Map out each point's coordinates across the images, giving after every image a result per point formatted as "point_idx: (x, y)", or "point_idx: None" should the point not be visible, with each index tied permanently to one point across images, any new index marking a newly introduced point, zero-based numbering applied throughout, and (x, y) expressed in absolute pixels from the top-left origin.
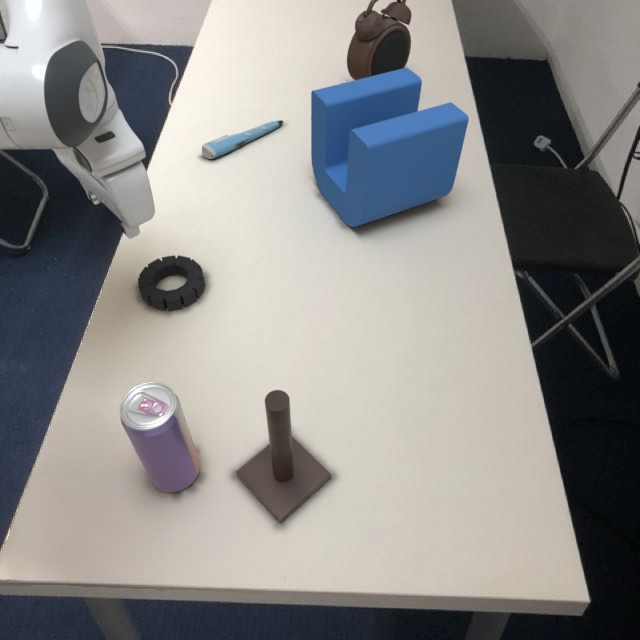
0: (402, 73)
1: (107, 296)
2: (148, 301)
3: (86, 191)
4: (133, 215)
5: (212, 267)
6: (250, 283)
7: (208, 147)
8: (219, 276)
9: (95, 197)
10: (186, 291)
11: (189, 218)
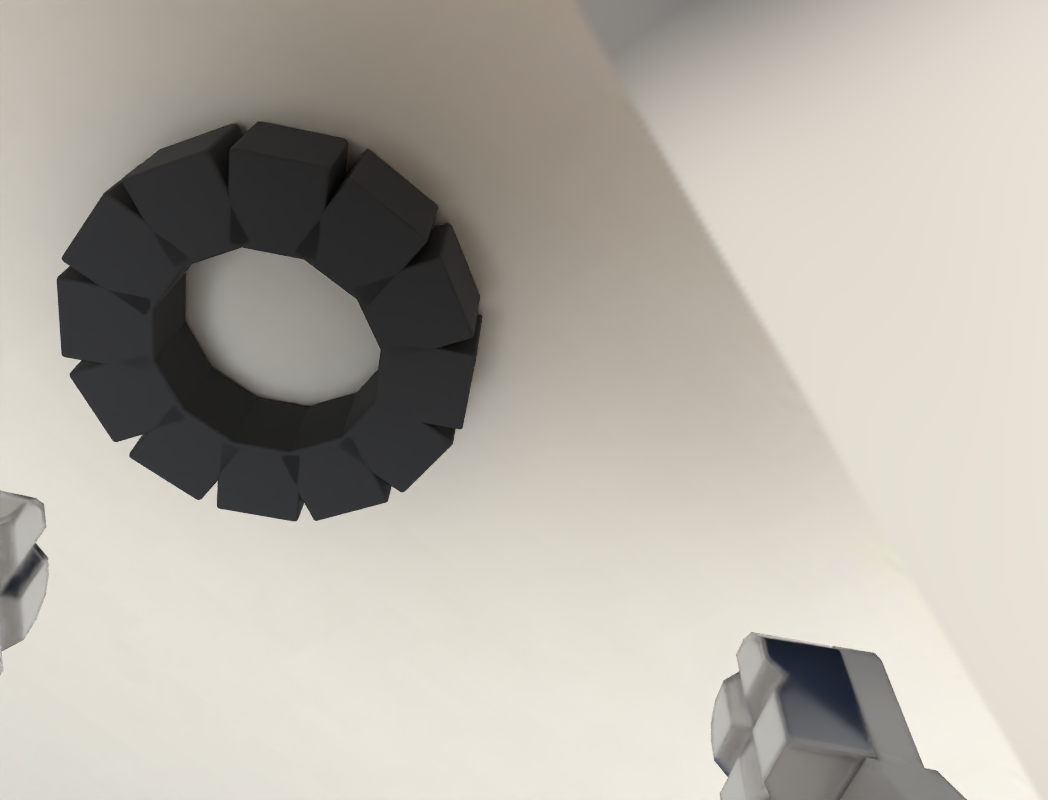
0: None
1: (561, 14)
2: (244, 135)
3: (892, 764)
4: None
5: (255, 525)
6: None
7: None
8: (174, 500)
9: (758, 726)
10: (91, 327)
11: (633, 692)
